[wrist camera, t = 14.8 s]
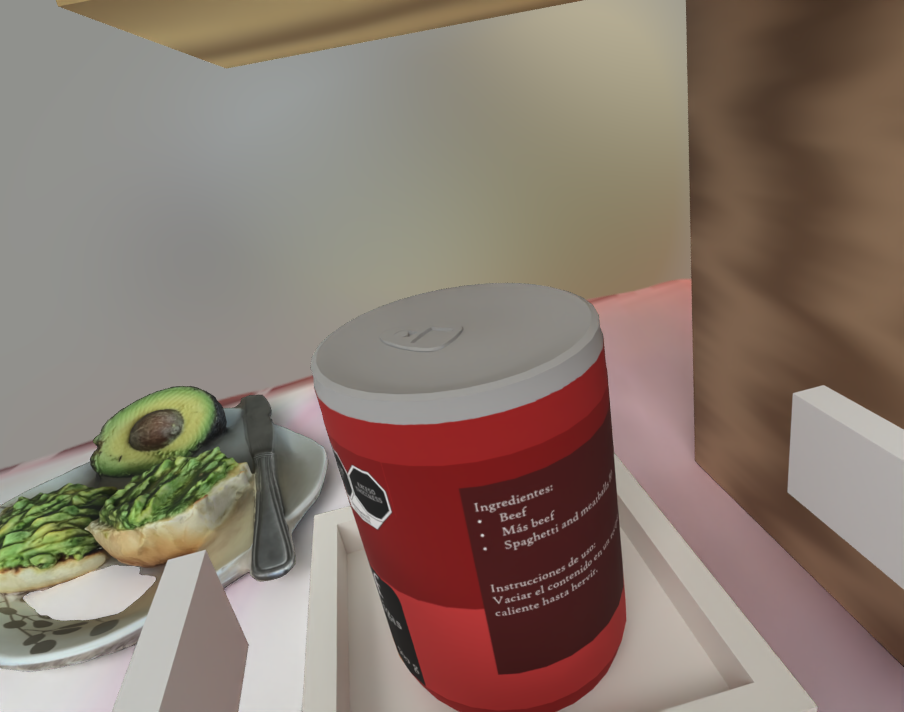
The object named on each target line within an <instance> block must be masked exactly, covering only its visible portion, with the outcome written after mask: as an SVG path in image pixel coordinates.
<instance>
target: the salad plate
mask: <svg viewBox="0 0 904 712" xmlns="http://www.w3.org/2000/svg"><path fill="white" fill-rule="evenodd" d="M271 411H272V410H271V407H270V405H269V403H268V401H267V399H266V398H265V397H264V396H263V395H249V396H246V397H244V398H242V400H241V402H240V404H239V405H237V406H236V407H234V408H223V407H222V405H221V404H220V403H219V402H218V401H217V400H216V398H215V397H214V396H213V395H211V394H210V393H208V392H206V391H204V390H201V389H199V388H197V387H192V386H187V387H186V386H177V387H171V388H168V389H164V390H160V391H157V392H155V393H152V394H149V395H147V396H145V397H143V398H141V399H139V400H137V401H135V402H133V403H132V404H130V405H128V406H127V407H125V408H123V409H121V410H120V411H119V412H118V413H116V414H115V415H114V416H113V417H112V418H110V419H109V420H108V421H107V422H106V423H105V425H104V426H103V427H102V429H101V433H100V434H99V435H98V436H96V437H95V438H94V440H93V443H94V444H95V445H96V446H97V450H96V451H94V453H93V454H92V456H91V458H90V462H89V463H86V464H84V465H82V466H79V467H77V468H75V469H73V470H71V471H69V472H67V473H65V474H63V475H61V476H58V477H56V478H54V479H51V480H49V481H47V482H45V483H43V484H41V485H39V486H36V487H34V488H32V489H30V490H28V491H26V492H24V493H22V494H20V495H19V496H17V497H15V498H13V499H11V500H10V501H8V502H6V503H4V504H2V505H1V506H0V668H2V669H10V670H18V671H27V672H31V671H40V670H48V669H55V668H60V667H65V666H70V665H74V664H79V663H82V662H86V661H89V660H92V659H94V658H97V657H100V656H103V655H106V654H110V653H113V652H116V651H119V650H122V649H125V648H127V647H130V646H132V645H135V644H137V642H138V639H139V637H140V634H141V631H142V629H143V626H144V623H145V620H146V618H147V615H148V612H149V610H150V607H151V604H152V601H153V599H154V596H155V593H156V591H157V588H158V585H159V582H160V580H161V577H162V574H163V572H164V569H165V566H166V564H167V561H168V560H169V559H173V558H177V557H180V556H184V555H188V554H192V553H195V552H199V551H203V550H206V551H207V553H208V556H209V558H210V560H211V562H212V565H213V567H214V569H215V571H216V573H217V576H218V578H219V580H220V582H221V584H222V587H223V588H225V587H226V586H228V585H229V584H230V583H232V582H234V581H235V580H237V579H238V578H240V577H242V576H243V575H245V574H246V573H248V572H250V575H251V576H252V577H253V578H254V579H256V580H257V581H269V580H273V579H277V578H280V577H282V576H284V575H286V574H287V573H288V572H289V571H290V570H291V569H292V568H293V566H294V565H295V562H296V555H295V550H294V545H293V540H292V532H293V530H294V528H295V527H296V526H297V524H298V523H299V522H300V520H301V519H302V518H303V516H304V515H305V513H306V512H307V511H308V510H309V508H310V507H311V506H312V505H313V504H314V502H315V501H316V500H317V499H318V497H319V495H320V492H321V488H322V486H323V483H324V479H325V475H326V470H327V467H328V464H329V463H328V458H327V454H326V451H325V449H324V447H323V446H321V445H319V444H318V443H316V442H315V441H313V440H312V439H310V438H307V437H305V436H303V435H301V434H298V433H295V432H293V431H291V430H289V429H287V428H284V427H281V426H278V425H275V424H273V423H272V420H271V419H270V416H271ZM111 565H119V566H137V567H140V573H139V574H141V575H150V576H155V577H156V581H155V582H154V584H153V585H152V586H151V587H150V588H149V589H148V590H147V591H146V592H145V593H144V594H143V595H142V596H141V597H140V598H139V599H138V600H136V601H135V602H134V603H133V604H131V605H130V606H129V607H128V608H126V609H125V610H124V611H122V612H120V613H118V614H115V615H111V616H106V617H102V618H98V619H92V620H83V621H82V620H70V621H60V620H54V619H52V618H50V617H49V616H41V615H39V614H38V613H37V612H36V611H35V609H33V608H32V607H30V606H29V605H28V604H27V603H26V602H25V601H24V600H23V596H25V595H26V594H28V593H29V592H33V591H37V590H40V591H43V590H46V589H49V588H51V587H53V586H55V585H57V584H60V583H64V582H67V581H70V580H72V579H75V578H77V577H79V576H82V575H84V574H86V573H89V572H91V571H95V570H99V569H103V568H106V567H109V566H111Z"/></svg>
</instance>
